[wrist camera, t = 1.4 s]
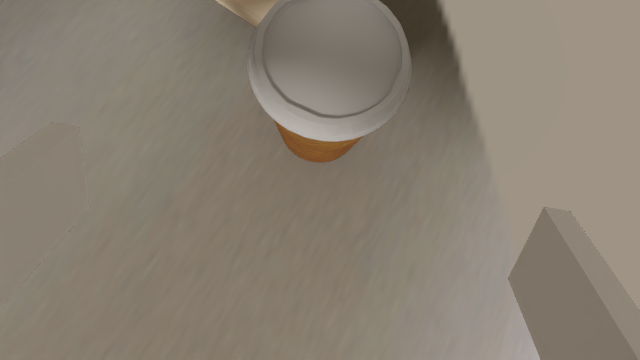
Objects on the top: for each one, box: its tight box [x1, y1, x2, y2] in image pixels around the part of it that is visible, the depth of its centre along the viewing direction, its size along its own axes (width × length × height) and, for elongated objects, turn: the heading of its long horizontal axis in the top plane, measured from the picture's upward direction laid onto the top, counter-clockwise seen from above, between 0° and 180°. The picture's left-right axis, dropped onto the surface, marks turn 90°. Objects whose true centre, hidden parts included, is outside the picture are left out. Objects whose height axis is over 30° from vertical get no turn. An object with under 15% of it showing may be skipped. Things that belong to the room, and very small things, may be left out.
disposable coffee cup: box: [248, 0, 412, 162], centre depth 31 cm, size 10×10×12 cm
